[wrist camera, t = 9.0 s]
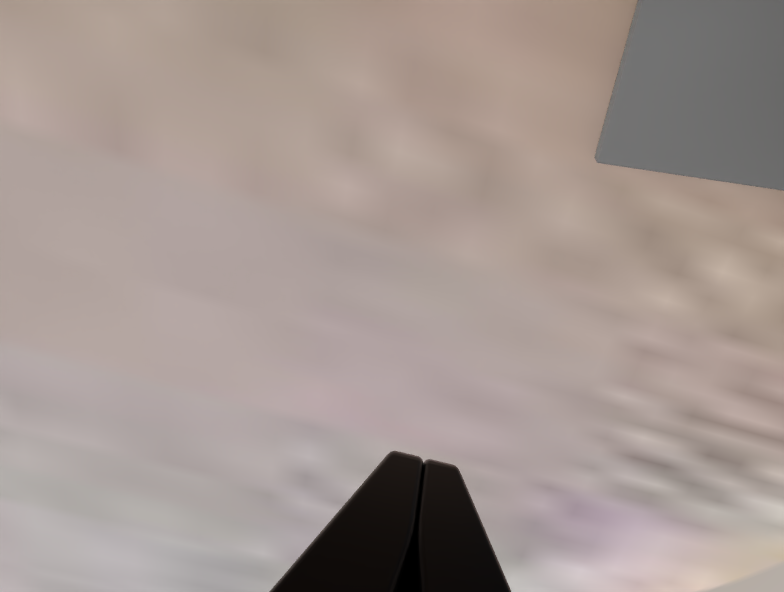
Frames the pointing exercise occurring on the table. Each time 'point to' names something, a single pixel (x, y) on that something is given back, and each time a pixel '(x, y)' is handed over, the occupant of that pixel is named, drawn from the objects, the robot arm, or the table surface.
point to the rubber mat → (701, 92)
